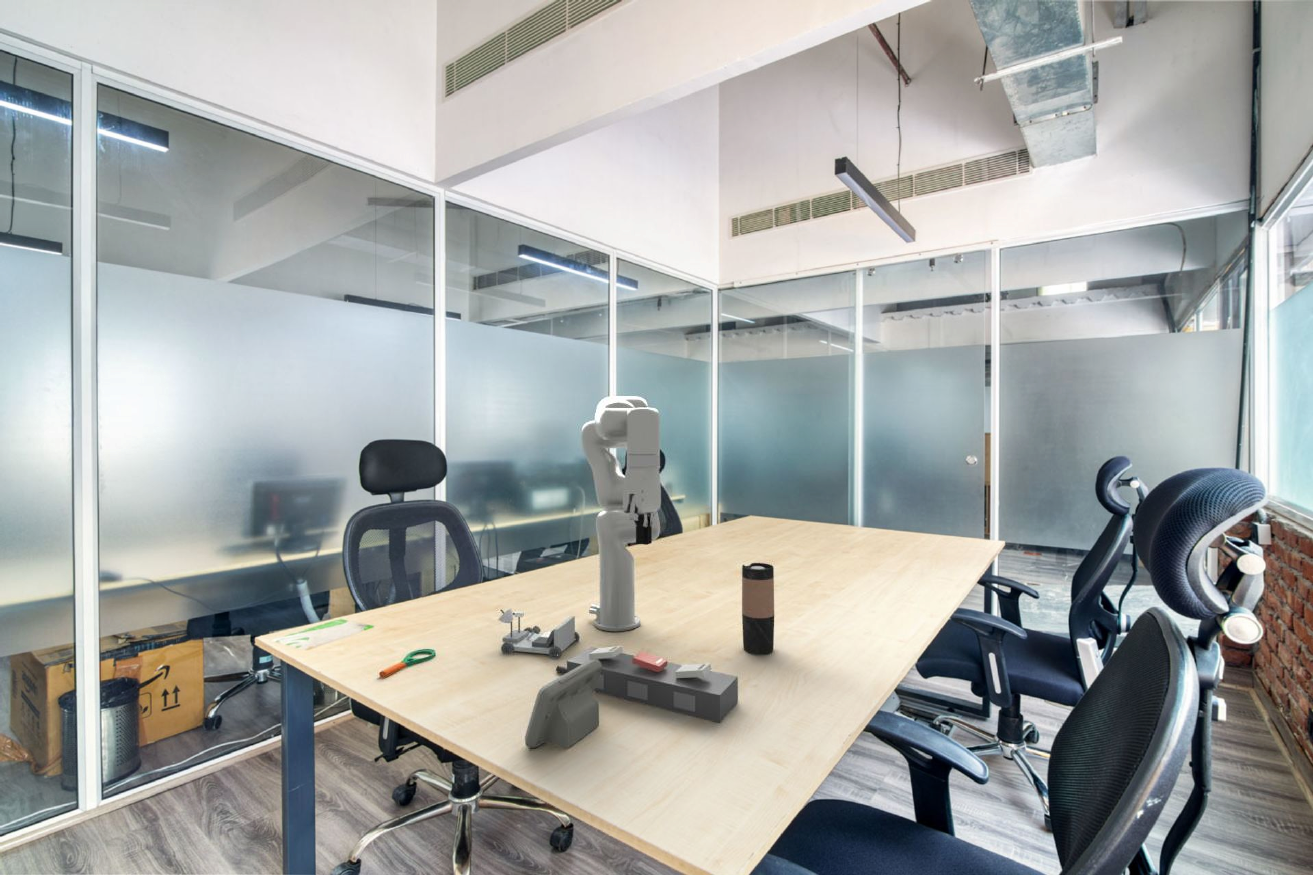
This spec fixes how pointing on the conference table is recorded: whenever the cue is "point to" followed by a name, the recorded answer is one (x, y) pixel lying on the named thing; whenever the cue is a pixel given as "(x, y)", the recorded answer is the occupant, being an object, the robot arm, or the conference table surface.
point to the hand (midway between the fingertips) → (643, 543)
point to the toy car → (538, 637)
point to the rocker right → (693, 670)
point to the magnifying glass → (408, 662)
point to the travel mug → (758, 608)
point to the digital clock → (566, 708)
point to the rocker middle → (649, 661)
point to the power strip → (663, 686)
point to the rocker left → (605, 652)
